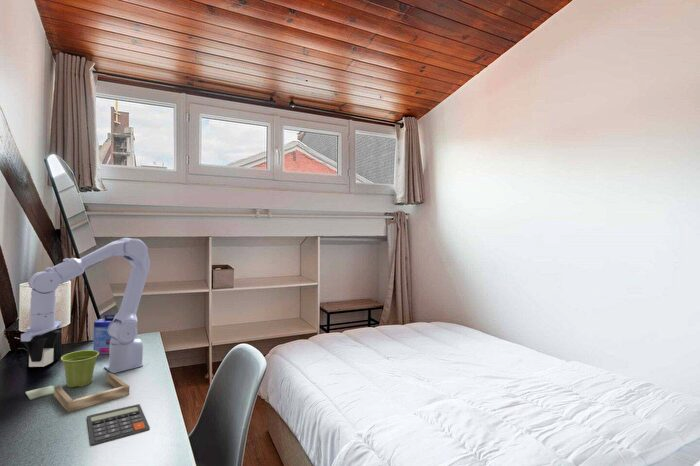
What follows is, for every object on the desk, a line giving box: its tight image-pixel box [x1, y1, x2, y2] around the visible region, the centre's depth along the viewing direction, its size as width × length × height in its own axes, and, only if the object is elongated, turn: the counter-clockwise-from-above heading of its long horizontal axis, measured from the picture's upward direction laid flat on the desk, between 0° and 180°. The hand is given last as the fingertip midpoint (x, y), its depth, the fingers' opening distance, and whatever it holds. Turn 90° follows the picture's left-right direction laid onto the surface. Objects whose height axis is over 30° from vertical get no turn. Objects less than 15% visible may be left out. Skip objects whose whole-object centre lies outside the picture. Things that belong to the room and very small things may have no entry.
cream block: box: [28, 347, 55, 368], centre depth 110 cm, size 4×4×4 cm
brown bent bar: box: [25, 372, 130, 413], centre depth 106 cm, size 19×21×2 cm
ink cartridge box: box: [92, 314, 116, 355], centre depth 141 cm, size 10×6×14 cm, turn 104°
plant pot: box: [60, 349, 100, 388], centre depth 113 cm, size 9×9×9 cm
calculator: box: [86, 403, 151, 447], centre depth 91 cm, size 12×1×15 cm
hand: (41, 358), depth 110 cm, fingers closed on cream block, 4 cm apart
